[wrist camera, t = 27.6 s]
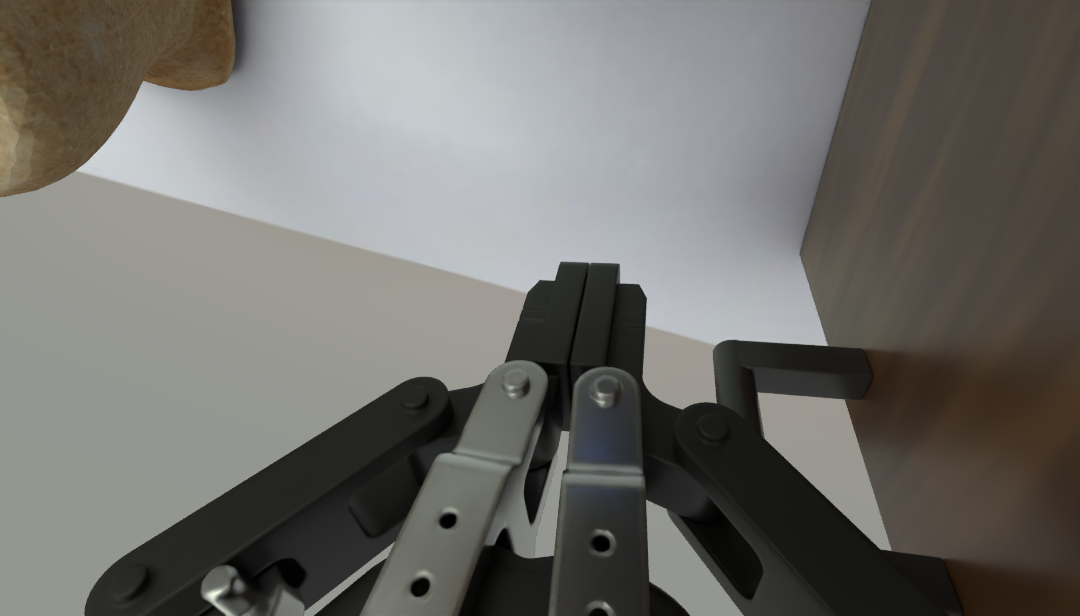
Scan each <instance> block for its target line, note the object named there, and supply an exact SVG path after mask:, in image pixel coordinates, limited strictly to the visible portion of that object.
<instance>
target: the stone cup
mask: <svg viewBox="0 0 1080 616" xmlns="http://www.w3.org/2000/svg"><path fill="white" fill-rule="evenodd" d="M234 62H235V33H234V25H233V14H232V6H231V0H0V197H6V196H11V195H15V194H20V193H25V192H29V191H35V190H38V189H40V188H43V187H45V186H47V185H49V184H52V183H54V182H56V181H59V180H61V179H63V178H64V177H66V176H68V175H69V174H71V173H72V172H74V171H75V170H77V169H78V168H79V167H81V166H82V165H83V164H85V163H86V162H87V161H88V160H89V159H90V158H91V157H92V156H93V155H94V154H95V153H96V152H97V151H98V150H99V149H100V148H101V147H102V146H103V144H104V143H105V142H106V141H107V140H108V138H109V137H110V136H111V135H112V133H113V132H114V131H115V129H116V128H117V127H118V125H119V124H120V123H121V121H122V119H123V118H124V116H125V115H126V113H127V111H128V110H129V108H130V106H131V104H132V102H133V101H134V99H135V97H136V94H137V92H138V90H139V88H140V86H141V84H142V82H143V81H146V82H149V83H153V84H156V85H160V86H164V87H169V88H175V89H180V90H190V91H192V90H202V89H206V88H209V87H214V86H218V85H221V84H223V83H225V82H226V81H227V80H228V79H229V77H230V75H231V73H232V70H233V67H234Z"/></svg>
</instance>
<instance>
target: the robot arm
mask: <svg viewBox="0 0 1080 616" xmlns="http://www.w3.org/2000/svg"><path fill="white" fill-rule="evenodd" d="M646 303H647V298H646V296H645V294H644V292H643V291H642V289H641V287H640V285H639V284H620V264H613V263H591V264H589V263H581V262H560V265H559V268H558V272H557V275H556V279H555V281H545V280H540V281H539V282H538V283H537V284H536V285H535V286H534V287H533V288H532V289H531V290H530V291H529V292H528V294H527V297H526V300H525V303H524V306H523V310H522V312H521V315H520V318H519V319H520V320H519V321H518V324H517V327H516V330H515V333H514V336H513V339H512V342H511V345H510V348H509V351H508V354H507V357H506V360H505V363H504V364H502V365H500V366H498V367H497V368H495V369H494V370H493V371H492V372H491V373H490V374H489V375H488V377H487V379H486V381H485V383H483V384H480V385H477V386H473V387H469V388H463V389H458V390H452V391H448V390H447V388H446V386H445V385H444V383H442V382H441V381H440V380H438V379H435V378H432V377H417V378H413V379H410V380H407V381H405V382H403V383H401V384H400V385H398V386H396V387H395V388H393V389H392V390H390V391H388V392H387V393H385V394H383V395H382V396H380V397H379V398H377V399H376V400H374V401H372V402H371V403H369V404H367V405H366V406H364V407H363V408H361V409H359V410H358V411H356V412H355V413H353V414H351V415H350V416H348V417H346V418H345V419H343V420H342V421H340V422H339V423H337V424H335V425H334V426H332V427H330V428H329V429H327V430H326V431H324V432H322V433H321V434H319V435H318V436H316V437H314V438H313V439H311V440H310V441H308V442H306V443H305V444H303V445H302V446H300V447H298V448H297V449H295V450H293V451H292V452H290V453H289V454H287V455H285V456H284V457H282V458H281V459H279V460H277V461H276V462H274V463H273V464H271V465H269V466H268V467H266V468H265V469H263V470H261V471H260V472H258V473H257V474H255V475H253V476H252V477H250V478H248V479H247V480H245V481H244V482H242V483H241V484H239V485H237V486H236V487H234V488H232V489H231V490H229V491H228V492H226V493H224V494H223V495H221V496H220V497H218V498H217V499H215V500H213V501H212V502H210V503H208V504H207V505H205V506H204V507H202V508H200V509H199V510H197V511H195V512H194V513H192V514H191V515H189V516H187V517H186V518H185V519H183V520H181V521H179V522H178V523H176V524H175V525H173V526H172V527H170V528H168V529H167V530H165V531H163V532H162V533H160V534H159V535H157V536H155V537H154V538H152V539H151V540H149V541H147V542H146V543H144V544H142V545H141V546H139V547H138V548H136V549H134V550H133V551H131V552H130V553H128V554H127V555H125V556H123V557H122V558H121V559H119V560H118V561H117V562H115V563H114V564H113V565H112V566H111V567H110V568H109V569H108V570H107V571H105V573H104V574H103V575H102V576H101V577H100V578H99V580H98V581H97V582H96V584H95V585H94V587H93V589H92V590H91V592H90V594H89V597H88V599H87V602H86V606H85V613H84V614H85V616H304V611H306V610H307V609H308V608H309V607H311V606H312V605H313V604H315V603H316V602H317V601H318V600H320V599H321V598H322V597H324V596H325V595H326V594H327V593H329V592H330V591H331V590H332V589H334V588H335V587H337V586H338V585H339V584H340V583H342V582H343V581H344V580H346V579H347V578H348V577H349V576H351V575H352V574H353V573H355V572H356V571H357V570H358V569H360V568H361V567H362V566H364V565H365V564H366V563H367V562H369V561H370V560H371V559H372V558H374V557H375V556H376V555H378V554H379V553H380V552H382V551H383V550H384V549H386V548H387V547H388V546H389V545H391V544H392V543H393V542H395V543H394V545H393V547H392V549H391V551H390V553H389V556H388V557H387V558H386V559H384V560H383V561H381V562H380V563H379V564H377V565H375V566H374V567H372V568H371V569H370V570H369V571H367V572H366V573H365V574H364V575H362V576H361V577H360V578H359V579H358V580H356V581H355V582H354V583H353V584H352V585H351V586H349V587H348V588H347V589H346V590H344V591H343V592H342V593H341V594H339V595H338V596H337V597H336V598H335V599H333V600H332V601H331V602H330V603H329V604H327V605H326V606H325V607H324V608H323V609H322V610H320V611H319V612H318V613H317V614H315V615H314V616H690V615H689V614H688V612H687V611H686V610H685V609H684V608H683V607H682V606H681V605H680V604H679V603H678V602H677V601H676V600H675V599H674V598H672V597H671V596H670V595H668V594H667V593H666V592H664V591H663V590H662V589H661V588H659V587H657V586H656V585H654V584H652V583H651V582H649V569H648V542H647V517H646V500H648V501H651V502H653V503H655V504H657V505H659V506H661V507H663V508H666V509H667V512H668V515H669V517H670V518H671V520H672V521H673V522H674V524H675V525H676V527H677V528H678V529H679V531H680V532H681V533H682V535H683V536H684V537H685V538H686V540H687V541H688V542H689V544H690V545H691V546H692V548H693V549H694V550H695V551H696V553H697V554H698V556H699V557H700V558H701V560H702V561H703V562H704V564H706V566H707V568H708V569H709V570H710V572H711V573H712V574H713V576H714V577H715V578H716V579H717V581H718V582H719V583H720V585H721V586H722V587H723V589H724V590H725V591H726V593H727V594H728V595H729V596H730V598H731V599H732V601H733V602H734V603H735V605H736V606H737V607H738V608H739V610H740V611H741V612H742V614H743V615H744V616H949V615H948V614H947V613H946V612H945V611H944V610H943V609H942V608H941V607H940V606H939V605H938V604H937V603H936V602H935V601H934V600H933V599H932V598H931V597H930V596H928V595H927V594H926V593H925V592H924V591H923V590H922V589H921V588H920V587H919V586H918V585H917V584H916V583H915V582H914V581H913V580H912V579H911V578H910V577H909V576H908V575H907V574H905V573H904V572H903V571H902V570H901V569H900V568H899V567H898V566H897V565H896V564H895V563H894V562H893V561H892V560H891V559H890V558H889V557H888V556H887V555H886V554H885V553H883V552H882V551H881V550H880V549H879V548H878V547H877V546H876V545H875V544H874V543H873V542H872V541H871V540H870V539H869V538H868V537H867V536H866V535H865V534H863V533H862V532H861V531H860V530H859V529H858V528H857V527H856V526H855V525H854V524H853V523H852V522H851V521H850V520H849V519H848V518H847V517H846V516H845V515H843V514H842V512H840V511H839V510H838V509H837V508H836V507H835V506H834V505H833V504H832V503H831V502H830V501H829V500H828V499H827V498H826V497H825V496H824V495H823V494H822V493H821V492H820V491H819V490H817V489H816V488H815V487H814V486H813V485H812V484H811V483H810V482H809V481H808V480H807V479H806V478H805V477H804V476H803V475H802V474H801V473H800V472H798V470H797V469H795V468H794V467H793V466H792V465H791V464H790V463H789V462H788V461H787V460H786V459H785V458H784V457H783V456H782V455H781V454H780V453H779V452H778V451H776V450H775V448H773V447H772V446H771V445H770V444H769V443H768V442H767V441H766V440H765V439H764V438H763V437H762V436H761V435H760V434H759V433H758V432H757V431H756V430H755V429H754V428H753V427H751V426H750V425H749V424H748V423H747V422H746V421H745V420H744V419H743V418H742V417H741V416H740V415H739V414H737V413H736V412H735V411H733V410H732V409H730V408H728V407H726V406H723V405H720V404H715V403H707V402H704V403H697V404H693V405H690V406H688V407H687V408H685V409H683V410H682V409H679V408H676V407H674V406H671V405H668V404H666V403H664V402H662V401H660V400H658V399H657V398H656V397H654V396H653V395H652V394H651V393H650V392H649V391H648V389H647V388H646V386H645V384H644V382H643V378H642V375H643V359H644V342H645V323H646ZM561 431H570V433H569V444H568V456H567V465H566V470H564V471H563V474H562V480H561V489H560V500H559V509H558V519H557V530H556V540H555V551H554V556H549V557H541V558H534V556H535V541H536V536H537V531H538V527H539V523H540V520H541V516H542V513H543V509H544V506H545V502H546V499H547V495H548V492H549V488H550V484H551V481H552V477H553V473H554V470H555V467H556V463H557V458H558V456H557V450H558V446H559V441H560V435H561Z"/></svg>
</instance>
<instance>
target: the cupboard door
mask: <svg viewBox="0 0 1080 616" xmlns="http://www.w3.org/2000/svg"><path fill="white" fill-rule="evenodd" d="M800 257H801V260H802V264H803V267H804V270H805V273H806V276H807V280H808V283H809V286H810V289H811V293H812V296H813V299H814V302H815V305H816V309H817V312H818V315H819V318H820V321H821V325H822V328H823V331H824V334H825V337H826V341H827V344H828V346H817V345H801V344H785V343H769V342H753V341H739V340H726V341H723V342H721V343H719V344H718V345H716V347H715V348H714V350H713V361H714V374H715V386H716V398H717V404H720V405H723V406H726V407H728V408H730V409H732V410H733V411H735V412H736V413H737V414H739V415H740V416H741V417H742V418H743V419H744V420H745V421H746V422H747V423H748V424H749V425H750V426H751V427H753V428H754V429H755V430H756V431H757V432H758V433H759V434H760V435H761V436H762V437H763V438H764V432H763V426H762V419H761V413H760V407H759V400H758V394H757V392H761V393H774V394H785V395H798V396H810V397H823V398H835V399H845V402H846V405H847V408H848V411H849V415H850V418H851V420H852V424H853V427H854V431H855V433H856V437H857V440H858V443H859V447H860V450H861V453H862V456H863V459H864V463H865V466H866V469H867V472H868V475H869V479H870V482H871V485H872V488H873V491H874V494H875V498H876V501H877V504H878V507H879V510H880V514H881V517H882V520H883V524H884V527H885V530H886V533H887V536H888V540H889V543H890V546H891V549H892V551H888V550H881V551H882V552H883V553H885V554H886V555H887V556H888V557H889V558H890V559H891V560H892V561H893V562H894V563H895V564H896V565H897V566H898V567H899V568H900V569H901V570H902V571H903V572H904V573H905V574H907V575H908V576H909V577H910V578H911V579H912V580H913V581H914V582H915V583H916V584H917V585H918V586H919V587H920V588H921V589H922V590H923V591H924V592H925V593H926V594H927V595H928V596H930V597H931V598H932V599H933V600H934V601H935V602H936V603H937V604H938V605H939V606H940V607H941V608H942V609H943V610H944V611H945V612H946V613H947V614H948V615H949V616H1080V0H872V3H871V7H870V10H869V14H868V17H867V21H866V24H865V28H864V31H863V35H862V38H861V42H860V45H859V49H858V52H857V56H856V59H855V63H854V66H853V70H852V73H851V77H850V80H849V84H848V87H847V91H846V94H845V98H844V101H843V105H842V108H841V112H840V115H839V119H838V122H837V126H836V129H835V133H834V136H833V140H832V143H831V147H830V150H829V154H828V157H827V161H826V164H825V168H824V171H823V175H822V178H821V182H820V185H819V189H818V192H817V196H816V199H815V203H814V206H813V210H812V213H811V217H810V220H809V224H808V227H807V231H806V234H805V238H804V241H803V245H802V248H801V252H800Z"/></svg>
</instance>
